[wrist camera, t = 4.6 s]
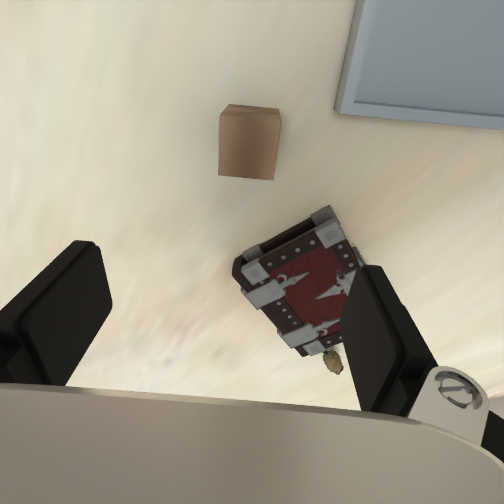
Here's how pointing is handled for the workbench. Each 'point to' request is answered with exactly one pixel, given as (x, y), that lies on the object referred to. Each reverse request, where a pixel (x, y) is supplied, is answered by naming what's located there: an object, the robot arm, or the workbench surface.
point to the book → (303, 283)
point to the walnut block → (248, 141)
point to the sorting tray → (426, 62)
